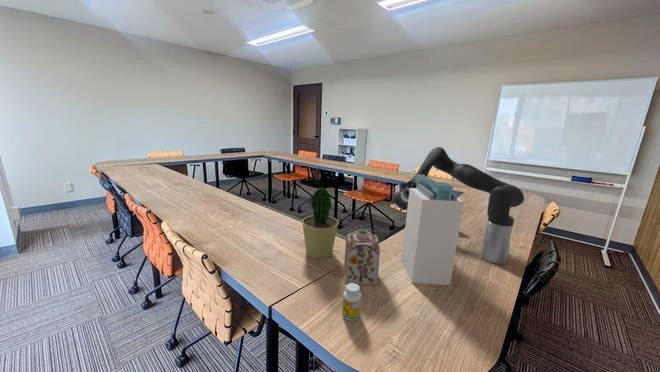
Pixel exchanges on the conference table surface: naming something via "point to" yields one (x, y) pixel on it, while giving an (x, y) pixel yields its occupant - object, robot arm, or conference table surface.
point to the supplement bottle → (351, 302)
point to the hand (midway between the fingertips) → (421, 183)
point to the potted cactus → (320, 226)
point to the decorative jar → (361, 258)
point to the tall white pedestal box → (431, 236)
